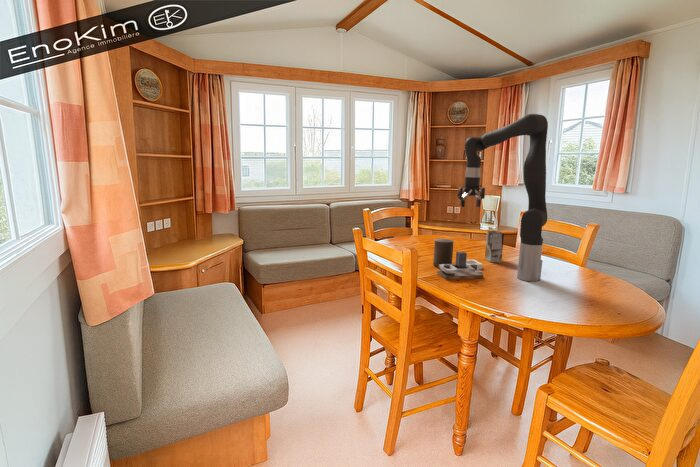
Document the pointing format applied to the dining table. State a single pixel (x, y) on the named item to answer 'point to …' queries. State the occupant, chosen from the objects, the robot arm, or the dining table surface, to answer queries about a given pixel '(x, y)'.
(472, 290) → the dining table surface
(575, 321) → the dining table surface
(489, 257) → the coffee box
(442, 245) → the pillar candle
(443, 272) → the grey slotted fixture
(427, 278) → the dining table surface
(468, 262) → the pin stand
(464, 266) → the steel pin
